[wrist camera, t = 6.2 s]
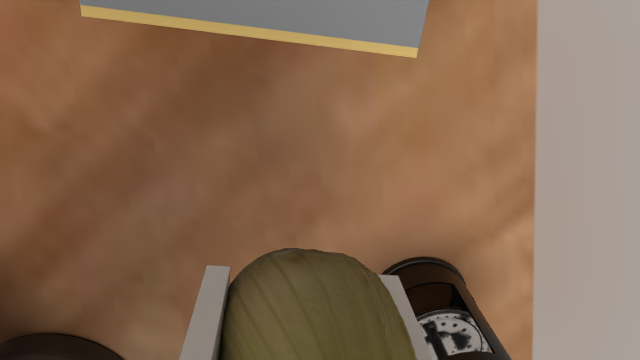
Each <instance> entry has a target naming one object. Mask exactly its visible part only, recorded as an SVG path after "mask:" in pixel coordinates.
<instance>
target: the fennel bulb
mask: <svg viewBox="0 0 640 360" xmlns="http://www.w3.org/2000/svg"><path fill="white" fill-rule="evenodd" d="M220 360H417V358H416V355H415V349H414V347H413V345H412V342H411V338H410V336H409V333H408V330H407V327H406V326H405V323H404V320H403V318H402V317H401V315H400V313H399V311H398V309H397V306H396V305H395V303H394V301H393V298H392V296H391V294H390V292H389V290H388V289H387V287H385V285H384V283H383V282H382V281H381V278H380V277H379V276H378V275H377V274H376V273H373V272H371V271H370V270H369V269H368V268H367V267H365V266H364V265H363V264H362V263H360V262H359V261H358V260H357V259H356V258H353V257H349V256H347V255H345V254H343V253H330V252H323V251H318V250H315V249H312V250H305V249H299V248H285V249H281V250H277V251H273V252H270V253H267V254H265V255H263V256H261V257H259V258H257V259H256V260H255V261H253V262H252V263H251V264H249V265H248V266H246V267H245V268H244V269H243V270H242V271H241V272H240V273H239V274H238V275H237V276H236V278H235V279H234V280H233V282H232V283H231V284H230V286H229V288H228V295H227V307H226V309H225V313H224V319H223V325H222V348H221V354H220Z"/></svg>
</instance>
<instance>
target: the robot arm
mask: <svg viewBox="0 0 640 360" xmlns="http://www.w3.org/2000/svg"><path fill="white" fill-rule="evenodd" d="M378 276H379V277H380V278H381V281H382V282H383V283H384V285H385V287H387V289H388V290H389V292H390V294H391V296H392V298H393V301H394V303H395V305H396V306H397V309H398V311H399V313H400V315H401V317H402V318H403V320H404V323H405V326H406V327H407V330H408V333H409V336H410V338H411V342H412V345H413V347H414V349H415V355H416V358H417V360H433V357H432V355H431V353H430V350H429V348H428V346H427V343H426V341H425V338H424V336H423V334H422V331H421V329H420V327H419V324H418V322H417V319H416V317H415V315H414V312H413V310H412V308H411V305H410V303H409V300H408V298H407V296H406V293H405V291H404V289H403V286H402V284H401V281H400V279H399V277H398V276H394V275H378ZM229 284H230V267H229V266H210V265H207V267H206V270H205V274H204V277H203V281H202V284H201V287H200V291H199V294H198V297H197V301H196V304H195V307H194V311H193V314H192V318H191V321H190V324H189V328H188V331H187V334H186V338H185V341H184V345H183V348H182V351H181V355H180V358H179V360H220V354H221V348H222V325H223V319H224V313H225V309H226V307H227V295H228V288H229ZM0 360H122V359H121V358H119V357H118V356H117V355H115V354H114V353H112V352H111V351H109V350H107V349H105V348H103V347H101V346H99V345H97V344H95V343H92V342H89V341H86V340H83V339H80V338H75V337H71V336H65V335H54V334H39V335H30V336H24V337H20V338H16V339H13V340H10V341H8V342H5V343H3V344H1V345H0Z"/></svg>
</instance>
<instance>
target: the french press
mask: <svg viewBox="0 0 640 360" xmlns="http://www.w3.org/2000/svg"><path fill="white" fill-rule="evenodd" d="M382 275H394V276H398V277H399V279H400V281H401V284H402V286H403V289H404V291H408V290H410V289H412V288H414V287H418V286H421V285H425V284H433V283H437V284H447V285H451V286H452V289H453V300H452V303H451V306H450V307H438V308H433V309H429V310H426V311H423V312H421V313H418V314H416V315H415V317H416V319H417V322H418V324H419V327H420V329H421V331H422V334H423V336H424V338H425V341H426V343H427V346H428V348H429V350H430V353H431V355H432V357H433V360H511V358H510V357H509V355H508V354H507V352H506V350H505V349H504V347H503V346H502V344H501V343H500V341H499V339H498V338H497V336H496V335H495V333H494V332H493V330H492V328H491V327H490V325H489V324H488V322H487V321H486V319H485V317H484V316H483V314H482V313H481V311H480V310H479V308H478V306H477V305H476V303H475V301H474V299H473V297H472V295H471V294H470V292H469V291H468V289H467V288H466V284H465V281H464V279H463V277H462V275H461V274H460V273H459V272H458V270H457V269H456V268H455V267H453V266H452V265H451V264H449V263H447V262H445V261H443V260H440V259H436V258H430V257H419V258H412V259H408V260H405V261H402V262H400V263H398V264H395V265H393V266H392V267H390V268H389V269H388V270H386V271H385V272H384V273H383V274H382ZM490 349H491V351H492V352H493V353H490V352H489V351H490Z"/></svg>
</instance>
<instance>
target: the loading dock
mask: <svg viewBox="0 0 640 360" xmlns="http://www.w3.org/2000/svg"><path fill="white" fill-rule="evenodd" d="M428 3H429V0H79V4H80V6H81V16H86V17H94V18H102V19H110V20H118V21H126V22H134V23H142V24H149V25H157V26H165V27H173V28H181V29H189V30H197V31H205V32H213V33H221V34H229V35H237V36H245V37H253V38H261V39H269V40H277V41H285V42H293V43H301V44H309V45H317V46H325V47H333V48H341V49H349V50H357V51H365V52H373V53H381V54H389V55H397V56H405V57H413V58H416V57H417V52H418V48H419V45H420V40H421V36H422V31H423V26H424V22H425V17H426V12H427V7H428Z"/></svg>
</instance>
